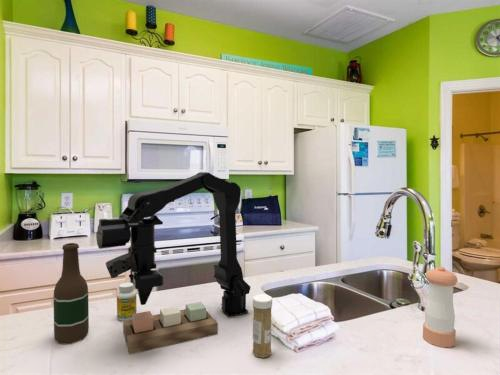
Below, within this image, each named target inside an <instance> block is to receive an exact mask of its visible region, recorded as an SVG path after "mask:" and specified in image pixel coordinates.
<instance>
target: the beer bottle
mask: <svg viewBox="0 0 500 375" xmlns="http://www.w3.org/2000/svg"><path fill="white" fill-rule="evenodd" d="M79 248H80V246H79V244H78V243H76V242H69V243H65V244H63V245H62V248H61V250H63V251H62V252H63V254H62V267H61V268H62V271H61V276H60V278H59V279H58V280H57V282H56V283H55V286H54V290H53V335H54V340H55V341H56V342H57V343H58V344H59V345H67V344H71V345H72V344H74V343H77V342H80V341H82V340H84V339H85V337H87V335H88V334H89V329H90V327H89V324H90V322H89V320H90V319H89V315H90V314H89V287H88V284H87V281H86V279H85V277H83V276H82V274H81V270H80V261H79V260H80V259H79Z"/></svg>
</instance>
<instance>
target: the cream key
mask: <svg viewBox="0 0 500 375" xmlns="http://www.w3.org/2000/svg"><path fill="white" fill-rule="evenodd" d="M179 310H180V309H179V308H178V307H177V305H176V306H174V305H173V306H169V307H164V308H163V307H162V308H159V314H160V321H161V323H162V325H163V327H167V326H172V325H177V324H181V312H180V311H179Z"/></svg>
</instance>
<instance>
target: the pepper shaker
mask: <svg viewBox="0 0 500 375" xmlns="http://www.w3.org/2000/svg"><path fill="white" fill-rule="evenodd" d="M425 279H426V281H427V282H428V294H427V302H426V306H425V310H424V322H423V325H422V340H424V341H425V342H426V341H427V342H426V343H428V344H431V345H432V344H433V346H435V345H436V347H438V346H440V347H439V348H444V347H450V348H453V347H452V346H454V345H455V346H456V335H457V334H456V332H457V331H456V329H455V322H456V321H455V320H456V314H455V307H454V286H456V284H457V283H458V277H457V275H456V274H455V273H454V272H452V271H450V270H448V269H446V268H445V267H444V266H438V267H437V268H432V269H428V271H426V274H425ZM455 346H454V347H455Z"/></svg>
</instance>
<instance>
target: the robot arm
mask: <svg viewBox="0 0 500 375" xmlns="http://www.w3.org/2000/svg"><path fill="white" fill-rule="evenodd" d="M202 189H204V190H205V191H207V192H209V193H210V194H212V196H213V201H214V204H215V206H216V209H217V210H218V214H219V242H220V245H219V246H220V247H219V248H220V259H219V262H218V263H217V264H214V265H213V268H214V269H213V270H214V275H213V278H214V279H215V281H216V282H217V284H218V285H219V286H220V289H221V290H223V291H222V292H223V296H221V307H220V309H221V310H222V311H223V313H224V314H226V315H227V316H228V317H235V316H239V315H243V314H249V310H248V309H247V295H249V293H250V292H251V285H249V284H248V282H247V281H246V280H244V274H243V270H242V267H241V265H240V262H239V260H238V249H237V248H238V247H237V223H236V220H237V219H236V218H237V217H236V215H237V214H236V212H237V210H238V207H239V205H240V204H241V195H242V191H241V190H242V189H241V186H240V185H239V184H237V183H236V182H232V181H227V180H225V179H222V178H220V177H218V176H216V175H214V174H212V173H210V172H208V171H207V172H203V171H201V172H200V171H199V172H197V173H196V174H193V175H192V176H190V177H186V178H184V179H182V180H179V181H177V182H174V183H171V184H169V185H167V186H164V187H162V188H158V189H152V190H146V191H140V192H135V193H133V194H132V195H130V197H129V199H128V201H127V206H126V207H125V209H124V210H123V212H121V214H120V215H119V217H118V218H110V219H108V218H100V219H98V225H97V231H96V233H95V236H96V237H95V238H96V244H97V247H98V249H99V250H102V249H108V248H116V247H118V248H119V247H124V246H127V244H128V243H130V246H129V247H128V249H127V250H128V251H127V253H124V254H122V255H119V256H116V257H114V258H112V259H109V260H108V261H106V262H105V266H106V268H107V272H108V274H109V276H110V278H111V279H115V278H118V276H119V275H121V274H124V273H126V272H129V271H130V272H131V274H128V277H129V279H130V282H131V283H132V284H134V290H135V289H136V290H137V294H138V298H139V303H140V305H141V306H144V305H146V304H147V303H148V299H149V298H150V295H151V293H152V291H153V289H154V288H157V287H162V286H163V285H164V276H163V275H162V274H161V272H160V271H158V270H157V263H156V262H155V259H156V257H155V256H156V255H155V254H156V253H157V247H156V246H155V245H156V243H155V242H156V240H155V238H156V237H155V234H156V232H155V230H156V229H155V226H160V225H163V224H164V222H163V221H162V220H161V219H159V217H158V216H157V215H156V214H157V213H159V212H160V211H162V210H164V208H165V207H166V206H167V205H168V204H170V203H171V202H174V201H176V200H178V199H180V198H183V197H185V196H189V195H190V194H193V193H196V192H197V191H200V190H202Z"/></svg>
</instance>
